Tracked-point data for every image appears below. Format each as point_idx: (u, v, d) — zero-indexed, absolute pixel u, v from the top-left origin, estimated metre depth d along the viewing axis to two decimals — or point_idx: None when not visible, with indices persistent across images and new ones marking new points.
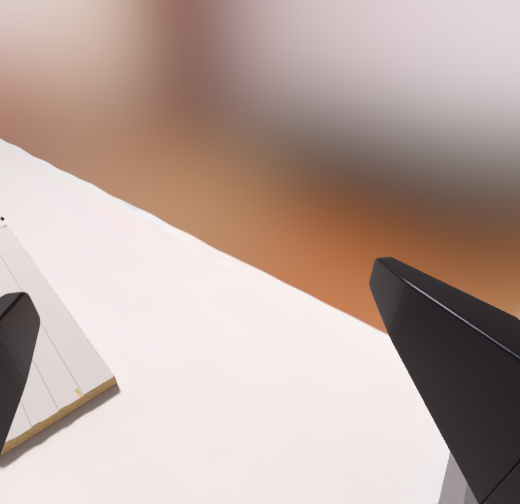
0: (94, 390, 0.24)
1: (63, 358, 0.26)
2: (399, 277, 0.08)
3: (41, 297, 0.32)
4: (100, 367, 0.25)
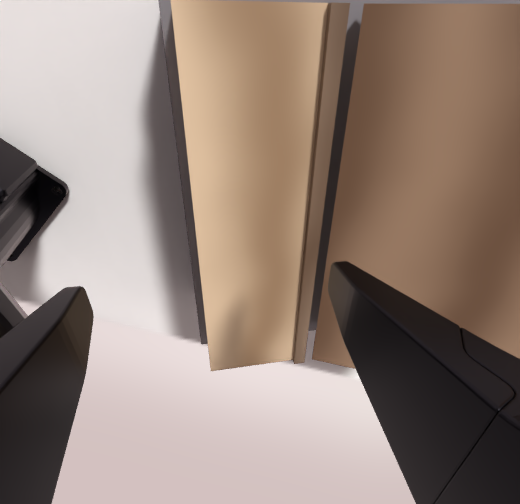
0: None
1: None
2: (350, 282, 0.08)
3: None
4: None
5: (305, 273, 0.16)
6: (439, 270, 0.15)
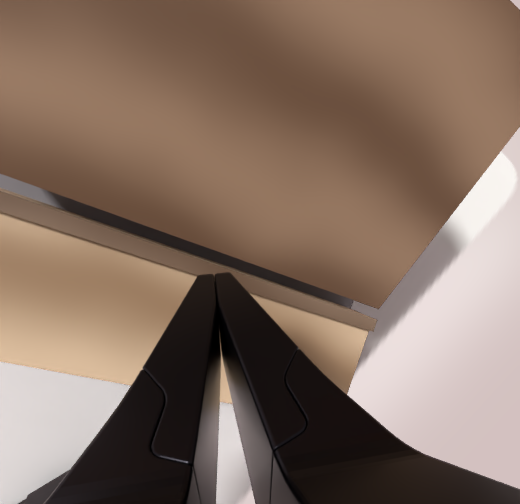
0: None
1: None
2: (217, 296, 0.08)
3: None
4: None
5: (254, 290, 0.14)
6: (301, 150, 0.12)
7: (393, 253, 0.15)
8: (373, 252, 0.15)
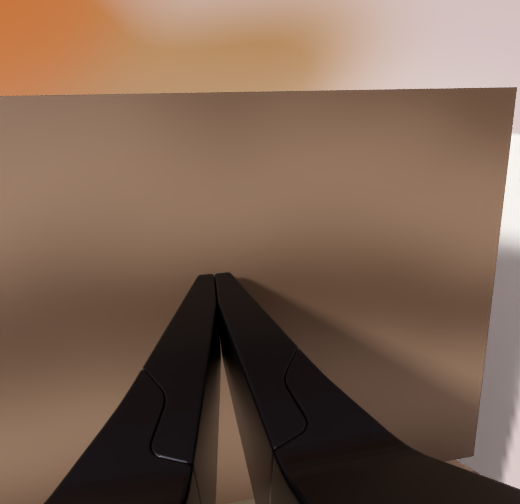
0: None
1: None
2: (217, 296, 0.08)
3: None
4: None
5: None
6: None
7: (446, 391, 0.11)
8: (418, 404, 0.11)
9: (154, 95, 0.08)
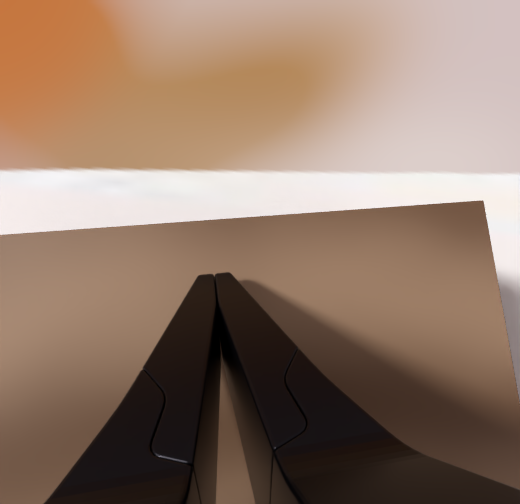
0: None
1: None
2: (217, 296, 0.08)
3: None
4: None
5: None
6: None
7: None
8: None
9: (171, 224, 0.09)
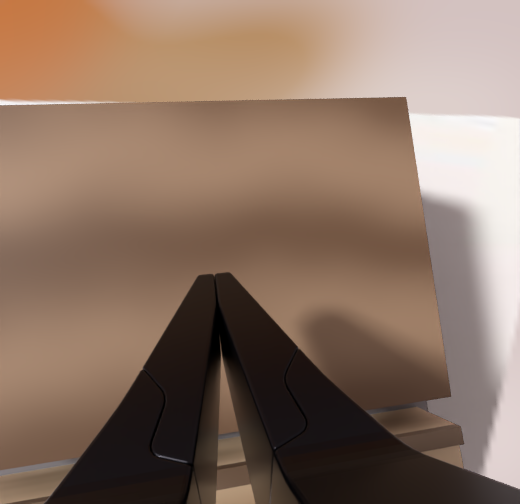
0: None
1: None
2: (217, 296, 0.08)
3: None
4: None
5: None
6: None
7: (408, 324, 0.13)
8: (385, 336, 0.13)
9: (170, 103, 0.13)
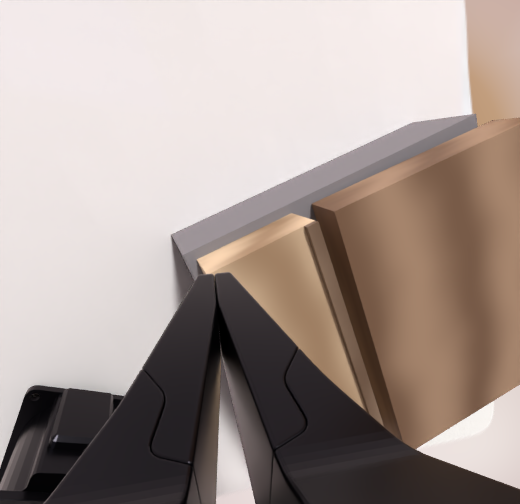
0: None
1: None
2: (217, 296, 0.08)
3: None
4: None
5: (365, 394, 0.19)
6: (451, 326, 0.20)
7: (440, 417, 0.22)
8: (433, 409, 0.21)
9: None
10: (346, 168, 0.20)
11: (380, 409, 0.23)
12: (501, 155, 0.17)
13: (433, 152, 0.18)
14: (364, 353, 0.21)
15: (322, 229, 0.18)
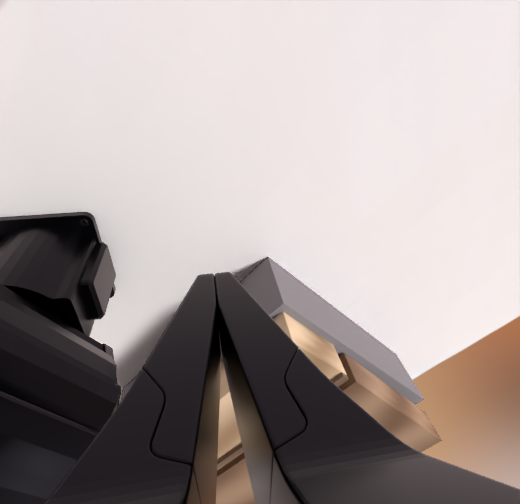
0: None
1: None
2: (217, 296, 0.08)
3: None
4: None
5: (231, 455, 0.24)
6: None
7: (226, 497, 0.28)
8: (231, 491, 0.28)
9: None
10: (366, 350, 0.27)
11: None
12: (415, 437, 0.27)
13: (400, 399, 0.27)
14: None
15: None
